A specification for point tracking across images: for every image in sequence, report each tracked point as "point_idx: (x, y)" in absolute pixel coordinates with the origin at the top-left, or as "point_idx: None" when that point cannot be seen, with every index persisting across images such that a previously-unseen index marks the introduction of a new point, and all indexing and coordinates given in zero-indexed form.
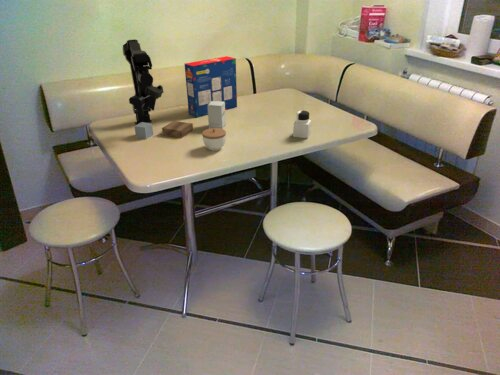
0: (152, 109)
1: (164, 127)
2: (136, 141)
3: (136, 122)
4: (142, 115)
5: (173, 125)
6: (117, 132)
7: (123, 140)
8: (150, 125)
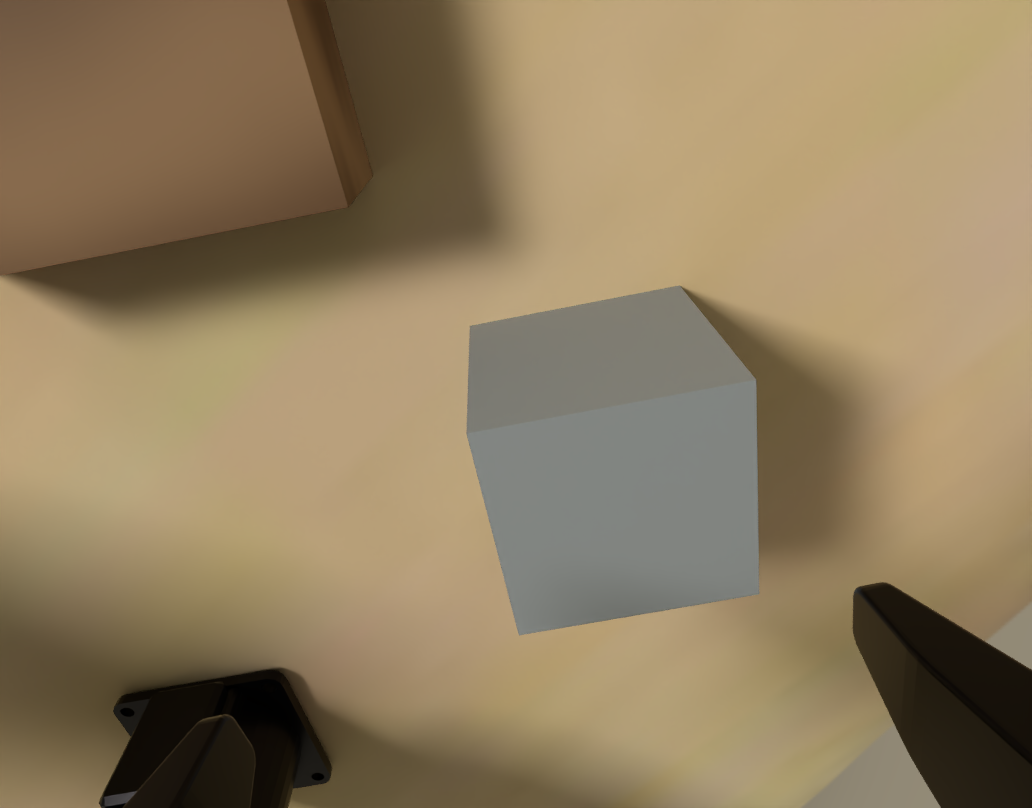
0: (234, 763)
1: (285, 180)
2: (825, 347)
3: (310, 775)
4: (911, 617)
5: (27, 74)
6: (654, 726)
7: (852, 515)
8: (530, 408)
